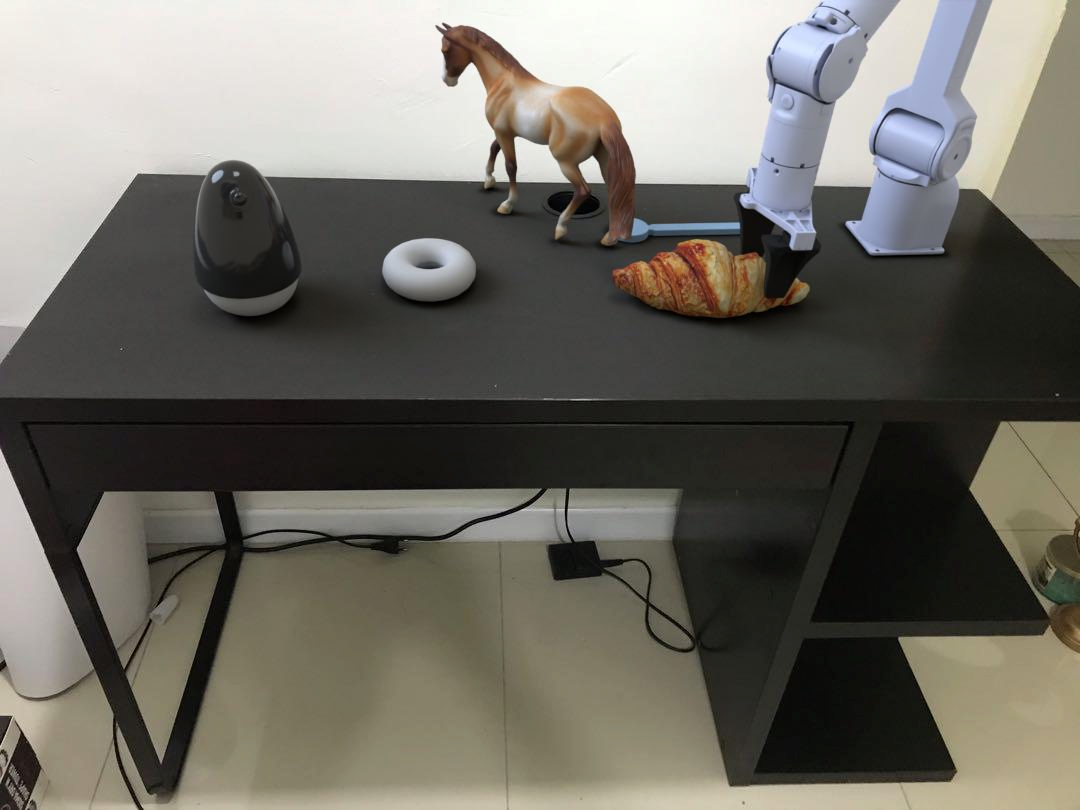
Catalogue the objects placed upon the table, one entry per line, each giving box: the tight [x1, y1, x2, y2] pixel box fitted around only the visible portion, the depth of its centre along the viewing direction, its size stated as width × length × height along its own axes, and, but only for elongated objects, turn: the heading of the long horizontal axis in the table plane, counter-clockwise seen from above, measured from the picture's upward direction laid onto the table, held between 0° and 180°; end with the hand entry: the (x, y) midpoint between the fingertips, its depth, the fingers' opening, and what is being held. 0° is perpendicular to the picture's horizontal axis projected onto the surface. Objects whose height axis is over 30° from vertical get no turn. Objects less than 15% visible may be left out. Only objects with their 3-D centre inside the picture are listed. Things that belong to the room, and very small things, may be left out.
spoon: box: [618, 217, 740, 244], centre depth 110 cm, size 17×5×1 cm, turn 98°
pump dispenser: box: [192, 159, 303, 317], centre depth 89 cm, size 10×10×15 cm
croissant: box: [612, 238, 811, 319], centre depth 96 cm, size 21×10×8 cm, turn 92°
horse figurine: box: [434, 22, 637, 247], centre depth 103 cm, size 31×8×21 cm, turn 45°
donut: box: [381, 237, 477, 302], centre depth 97 cm, size 10×4×10 cm
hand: (762, 277), depth 97 cm, fingers open, 7 cm apart
